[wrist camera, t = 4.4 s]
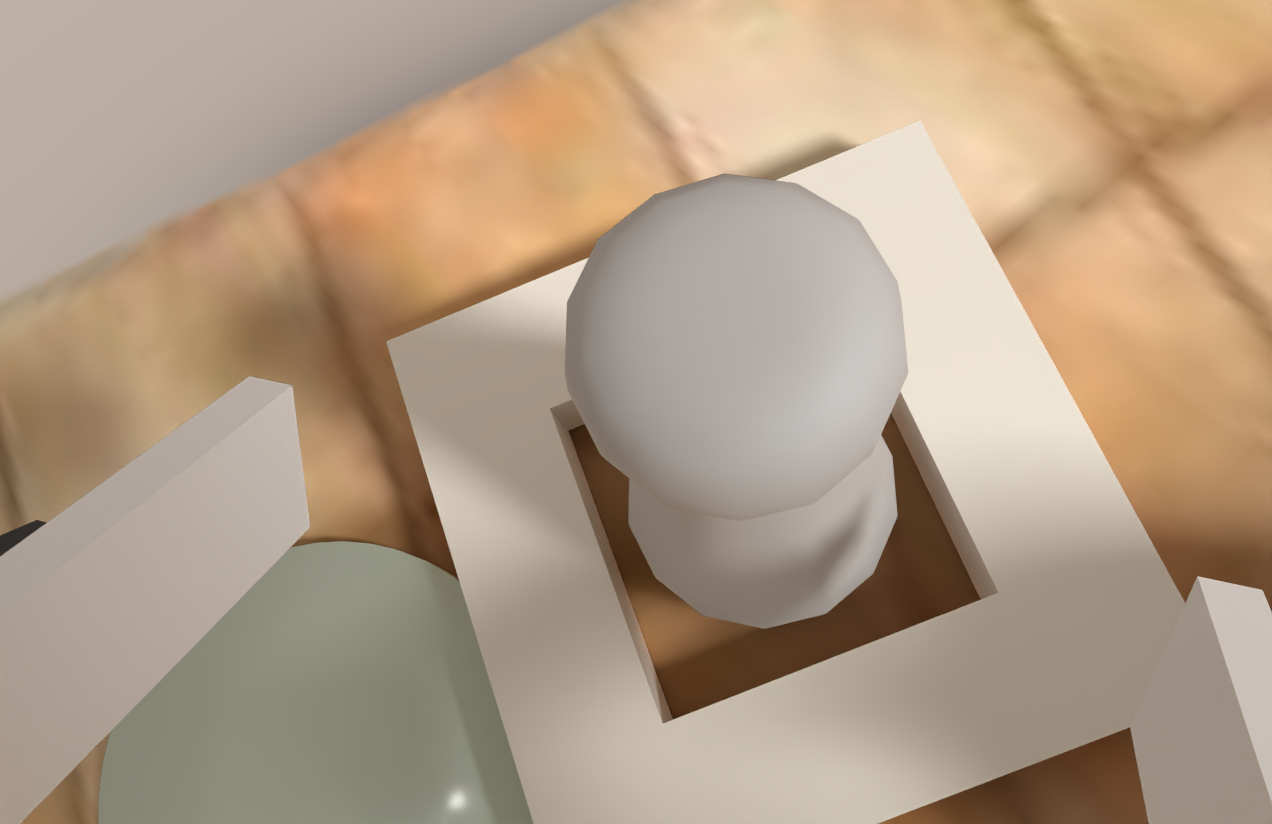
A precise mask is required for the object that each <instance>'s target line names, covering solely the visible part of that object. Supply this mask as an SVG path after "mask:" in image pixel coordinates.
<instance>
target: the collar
mask: <svg viewBox="0 0 1272 824" xmlns="http://www.w3.org/2000/svg"><path fill="white" fill-rule="evenodd" d="M777 181H784V182H792V183H797V184H799V185H801V186H802V187H804V188H806V189H808V190H809V191H811V192H813V193H814V194H816V195H818V196H819V197H821V198H823V199H825V200H826V201H828V202H830V203H831V204H833V205H835V206H837V207H838V208H840V209H842V210H843V211H845V212H847V213H848V214H850V215H852V216H854V217H855V218H857V219H859V220H860V222H861V223H862V225H863V227H864V228H865V230H866V231H867V233H868V235H869V236H870V238H871V239H872V241H873V243H874V244H875V246H876V248H877V249H878V251H879V252H880V254H881V256H882V257H883V259H884V260H885V262H886V264H887V265H888V267H889V268H890V270H891V272H892V273H893V275H894V276H895V278H896V280H897V282H898V287H899V291H900V296H901V302H902V312H903V322H904V333H905V343H906V353H907V364H908V375H907V377H906V380H905V382H904V384H903V386H902V389H901V391H900V393H899V395H898V398H897V400H896V402H895V404H894V407H893V409H892V411H891V414H892V416H893V418H894V420H895V422H896V425H897V427H898V429H899V431H900V433H901V435H902V437H903V439H904V441H905V443H906V445H907V447H908V449H909V452H910V454H911V456H912V458H913V460H914V462H915V464H916V466H917V468H918V470H919V472H920V474H921V477H922V479H923V481H924V483H925V485H926V487H927V489H928V491H929V493H930V495H931V497H932V499H933V501H934V504H935V506H936V508H937V510H938V512H939V514H940V516H941V518H942V520H943V522H944V524H945V526H946V529H947V531H948V533H949V535H950V537H951V539H952V541H953V543H954V545H955V547H956V549H957V551H958V553H959V556H960V558H961V560H962V562H963V564H964V566H965V568H966V570H967V572H968V574H969V576H970V578H971V581H972V583H973V585H974V587H975V589H976V591H977V593H978V595H979V597H980V599H981V600H978V601H976V602H973V603H971V604H968V605H966V606H963V607H960V608H958V609H955V610H953V611H950V612H948V613H945V614H942V615H940V616H937V617H935V618H932V619H930V620H927V621H925V622H922V623H919V624H917V625H914V626H912V627H909V628H907V629H904V630H901V631H899V632H896V633H894V634H891V635H889V636H886V637H884V638H881V639H878V640H876V641H873V642H871V643H868V644H866V645H863V646H860V647H858V648H855V649H853V650H850V651H848V652H845V653H843V654H840V655H837V656H835V657H832V658H830V659H827V660H825V661H822V662H819V663H817V664H814V665H812V666H809V667H807V668H804V669H802V670H799V671H796V672H794V673H791V674H789V675H786V676H784V677H781V678H778V679H776V680H773V681H771V682H768V683H766V684H763V685H761V686H758V687H755V688H753V689H750V690H748V691H745V692H743V693H740V694H737V695H735V696H732V697H730V698H727V699H725V700H722V701H720V702H717V703H714V704H712V705H709V706H707V707H704V708H702V709H699V710H696V711H694V712H691V713H689V714H686V715H684V716H681V717H679V718H676V719H673V718H672V715H671V712H670V710H669V707H668V704H667V701H666V699H665V696H664V693H663V690H662V688H661V685H660V682H659V679H658V676H657V674H656V671H655V668H654V665H653V663H652V660H651V657H650V654H649V652H648V649H647V646H646V643H645V641H644V638H643V635H642V632H641V630H640V627H639V624H638V621H637V618H636V616H635V613H634V610H633V607H632V605H631V602H630V599H629V596H628V594H627V591H626V588H625V585H624V583H623V580H622V577H621V574H620V572H619V569H618V566H617V563H616V560H615V558H614V555H613V552H612V549H611V547H610V544H609V541H608V538H607V536H606V533H605V530H604V527H603V525H602V522H601V519H600V516H599V514H598V511H597V508H596V505H595V502H594V500H593V497H592V494H591V491H590V489H589V486H588V483H587V480H586V478H585V475H584V472H583V469H582V467H581V464H580V461H579V458H578V455H577V453H576V450H575V447H574V444H573V442H572V439H571V436H570V433H569V430H572V429H574V428H576V427H579V426H581V425H584V422H583V420H582V418H581V416H580V414H579V412H578V410H577V408H576V406H575V404H574V402H573V400H572V398H571V396H570V394H569V392H568V389H567V383H566V377H565V347H566V315H567V301H568V299H569V297H570V295H571V293H572V291H573V289H574V287H575V285H576V283H577V281H578V279H579V277H580V275H581V273H582V271H583V269H584V266H585V264H586V262H587V260H588V258H586V259H584V260H582V261H579V262H577V263H574V264H572V265H569V266H567V267H565V268H562V269H560V270H557V271H555V272H553V273H550V274H548V275H545V276H543V277H540V278H538V279H536V280H533V281H531V282H528V283H526V284H523V285H521V286H519V287H516V288H514V289H511V290H509V291H507V292H504V293H502V294H499V295H497V296H494V297H492V298H490V299H487V300H485V301H482V302H480V303H478V304H475V305H473V306H470V307H468V308H465V309H463V310H461V311H458V312H456V313H453V314H451V315H448V316H446V317H444V318H441V319H439V320H436V321H434V322H432V323H429V324H427V325H424V326H422V327H419V328H417V329H415V330H412V331H410V332H407V333H405V334H403V335H400V336H398V337H395V338H393V339H390V340H388V341H386V343H387V347H388V350H389V353H390V356H391V360H392V363H393V366H394V369H395V373H396V376H397V379H398V382H399V386H400V389H401V392H402V395H403V399H404V402H405V405H406V409H407V412H408V415H409V418H410V422H411V425H412V428H413V431H414V435H415V438H416V441H417V444H418V448H419V451H420V454H421V458H422V461H423V464H424V467H425V471H426V474H427V477H428V480H429V484H430V487H431V490H432V493H433V497H434V500H435V503H436V507H437V510H438V513H439V516H440V520H441V523H442V526H443V529H444V533H445V536H446V539H447V542H448V546H449V549H450V552H451V555H452V559H453V562H454V565H455V569H456V572H457V575H458V578H459V582H460V585H461V588H462V591H463V595H464V598H465V601H466V604H467V608H468V611H469V614H470V618H471V621H472V624H473V627H474V631H475V634H476V637H477V640H478V644H479V647H480V650H481V653H482V657H483V660H484V663H485V667H486V670H487V673H488V676H489V680H490V683H491V686H492V689H493V693H494V696H495V699H496V702H497V706H498V709H499V712H500V715H501V719H502V722H503V725H504V729H505V732H506V735H507V738H508V742H509V745H510V748H511V751H512V755H513V758H514V761H515V764H516V768H517V771H518V774H519V778H520V781H521V784H522V787H523V791H524V794H525V797H526V800H527V804H528V807H529V810H530V813H531V817H532V820H533V823H534V824H878V823H881V822H883V821H886V820H888V819H891V818H894V817H896V816H899V815H902V814H904V813H907V812H909V811H912V810H915V809H917V808H920V807H922V806H925V805H928V804H930V803H933V802H936V801H938V800H941V799H943V798H946V797H949V796H951V795H954V794H957V793H959V792H962V791H964V790H967V789H970V788H972V787H975V786H977V785H980V784H983V783H985V782H988V781H991V780H993V779H996V778H998V777H1001V776H1004V775H1006V774H1009V773H1012V772H1014V771H1017V770H1019V769H1022V768H1025V767H1027V766H1030V765H1032V764H1035V763H1038V762H1040V761H1043V760H1046V759H1048V758H1051V757H1053V756H1056V755H1059V754H1061V753H1064V752H1067V751H1069V750H1072V749H1074V748H1077V747H1080V746H1082V745H1085V744H1087V743H1090V742H1093V741H1095V740H1098V739H1101V738H1103V737H1106V736H1108V735H1111V734H1114V733H1116V732H1119V731H1122V730H1124V729H1127V728H1129V727H1130V726H1131V724H1132V721H1133V719H1134V717H1135V715H1136V712H1137V710H1138V708H1139V706H1140V703H1141V701H1142V699H1143V697H1144V695H1145V692H1146V690H1147V688H1148V686H1149V683H1150V681H1151V679H1152V677H1153V674H1154V672H1155V670H1156V668H1157V666H1158V663H1159V661H1160V659H1161V657H1162V654H1163V652H1164V650H1165V648H1166V645H1167V643H1168V641H1169V639H1170V637H1171V634H1172V632H1173V630H1174V628H1175V625H1176V623H1177V621H1178V619H1179V616H1180V614H1181V612H1182V610H1183V608H1184V605H1185V602H1184V600H1183V598H1182V596H1181V594H1180V592H1179V591H1178V589H1177V587H1176V585H1175V583H1174V582H1173V580H1172V578H1171V576H1170V574H1169V572H1168V571H1167V569H1166V567H1165V565H1164V563H1163V562H1162V560H1161V558H1160V556H1159V554H1158V552H1157V551H1156V549H1155V547H1154V545H1153V543H1152V541H1151V540H1150V538H1149V536H1148V534H1147V532H1146V531H1145V529H1144V527H1143V525H1142V523H1141V521H1140V520H1139V518H1138V516H1137V514H1136V512H1135V511H1134V509H1133V507H1132V505H1131V503H1130V501H1129V500H1128V498H1127V496H1126V494H1125V492H1124V491H1123V489H1122V487H1121V485H1120V483H1119V481H1118V480H1117V478H1116V476H1115V474H1114V472H1113V471H1112V469H1111V467H1110V465H1109V463H1108V461H1107V460H1106V458H1105V456H1104V454H1103V452H1102V450H1101V449H1100V447H1099V445H1098V443H1097V441H1096V440H1095V438H1094V436H1093V434H1092V432H1091V430H1090V429H1089V427H1088V425H1087V423H1086V421H1085V420H1084V418H1083V416H1082V414H1081V412H1080V410H1079V409H1078V407H1077V405H1076V403H1075V401H1074V400H1073V398H1072V396H1071V394H1070V392H1069V390H1068V389H1067V387H1066V385H1065V383H1064V381H1063V380H1062V378H1061V376H1060V374H1059V372H1058V370H1057V369H1056V367H1055V365H1054V363H1053V361H1052V359H1051V358H1050V356H1049V354H1048V352H1047V350H1046V349H1045V347H1044V345H1043V343H1042V341H1041V339H1040V338H1039V336H1038V334H1037V332H1036V330H1035V329H1034V327H1033V325H1032V323H1031V321H1030V319H1029V318H1028V316H1027V314H1026V312H1025V310H1024V309H1023V307H1022V305H1021V303H1020V301H1019V299H1018V298H1017V296H1016V294H1015V292H1014V290H1013V288H1012V287H1011V285H1010V283H1009V281H1008V279H1007V278H1006V276H1005V274H1004V272H1003V270H1002V268H1001V267H1000V265H999V263H998V261H997V259H996V258H995V256H994V254H993V252H992V250H991V248H990V247H989V245H988V243H987V241H986V239H985V238H984V236H983V234H982V232H981V230H980V228H979V227H978V225H977V223H976V221H975V219H974V218H973V216H972V214H971V212H970V210H969V208H968V207H967V205H966V203H965V201H964V199H963V197H962V196H961V194H960V192H959V190H958V188H957V187H956V185H955V183H954V181H953V179H952V177H951V176H950V174H949V172H948V170H947V168H946V167H945V165H944V163H943V161H942V159H941V157H940V156H939V154H938V152H937V150H936V148H935V147H934V145H933V143H932V141H931V139H930V137H929V136H928V134H927V132H926V130H925V128H924V126H923V125H922V123H921V121H918V122H915V123H913V124H911V125H908V126H906V127H903V128H901V129H898V130H896V131H894V132H891V133H889V134H886V135H884V136H881V137H879V138H877V139H874V140H872V141H869V142H867V143H865V144H862V145H860V146H857V147H855V148H852V149H850V150H848V151H845V152H843V153H840V154H838V155H836V156H833V157H831V158H828V159H826V160H823V161H821V162H819V163H816V164H814V165H811V166H809V167H806V168H804V169H802V170H799V171H797V172H794V173H792V174H790V175H787V176H785V177H782V178H780V179H777Z"/></svg>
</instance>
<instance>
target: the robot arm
mask: <svg viewBox="0 0 1272 824" xmlns="http://www.w3.org/2000/svg"><path fill="white" fill-rule="evenodd" d="M309 528H310V520H309V513H308V505H307V497H306V489H305V481H304V473H303V465H302V458H301V450H300V442H299V434H298V426H297V418H296V410H295V402H294V395H293V387H292V385H289V384H284V383H280V382H275V381H270V380H265V379H261V378H256V377H251V376H249V377H247V378H246V379H245V380H243V381H242V382H241V383H239V384H238V385H236V386H235V387H234V388H232V389H231V390H229V391H228V392H227V393H225V394H224V395H223V396H221V397H220V398H218V399H217V400H216V401H214V402H213V403H212V404H210V405H209V406H207V407H206V408H205V409H203V410H202V411H200V412H199V413H198V414H196V415H195V416H194V417H192V418H191V419H189V420H188V421H187V422H185V423H184V424H183V425H181V426H180V427H178V428H177V429H176V430H174V431H173V432H171V433H170V434H169V435H167V436H166V437H165V438H163V439H162V440H160V441H159V442H158V443H156V444H155V445H154V446H152V447H151V448H149V449H148V450H147V451H145V452H144V453H143V454H141V455H140V456H138V457H137V458H136V459H134V460H133V461H131V462H130V463H129V464H127V465H126V466H125V467H123V468H122V469H120V470H119V471H118V472H116V473H115V474H114V475H112V476H111V477H109V478H108V479H107V480H105V481H104V482H102V483H101V484H100V485H98V486H97V487H96V488H94V489H93V490H91V491H90V492H89V493H87V494H86V495H85V496H83V497H82V498H80V499H79V500H78V501H76V502H75V503H73V504H72V505H71V506H69V507H68V508H67V509H65V510H64V511H62V512H61V513H60V514H58V515H57V516H56V517H54V518H53V519H51V520H50V521H49V522H47V523H46V522H42V521H38V520H36V521H34V522H31V523H29V524H26V525H24V526H22V527H19V528H17V529H15V530H12V531H10V532H8V533H5V534H3V535H1V536H0V824H21V823H22V822H23V821H24V820H25V818H26V817H27V816H28V815H29V814H30V813H31V812H32V811H33V810H34V809H35V808H36V807H37V806H38V805H39V804H40V803H41V802H42V801H43V800H44V799H45V798H46V797H47V796H48V795H49V794H50V793H51V792H52V791H53V790H54V789H55V788H56V787H57V786H58V785H59V784H60V783H61V782H62V781H63V780H64V779H65V778H66V777H67V776H68V774H69V773H70V772H71V771H72V770H73V769H74V768H75V767H76V766H77V765H78V764H79V763H80V762H81V761H82V760H83V759H84V758H85V757H86V756H87V755H88V754H89V753H90V752H91V751H92V750H93V749H94V748H95V747H96V746H97V745H98V744H99V743H100V742H101V741H102V740H103V739H104V738H105V737H106V736H107V735H108V734H109V733H110V732H111V730H112V729H113V728H114V727H115V726H116V725H117V724H118V723H119V722H120V721H121V720H122V719H123V718H124V717H125V716H126V715H127V714H128V713H129V712H130V711H131V710H132V709H133V708H134V707H135V706H136V705H137V704H138V703H139V702H140V701H141V700H142V699H143V698H144V697H145V696H146V695H147V694H148V693H149V692H150V691H151V690H152V689H153V687H154V686H155V685H156V684H157V683H158V682H159V681H160V680H161V679H162V678H163V677H164V676H165V675H166V674H167V673H168V672H169V671H170V670H171V669H172V668H173V667H174V666H175V665H176V664H177V663H178V662H179V661H180V660H181V659H182V658H183V657H184V656H185V655H186V654H187V653H188V652H189V651H190V650H191V649H192V648H193V647H194V646H195V645H196V643H197V642H198V641H199V640H200V639H201V638H202V637H203V636H204V635H205V634H206V633H207V632H208V631H209V630H210V629H211V628H212V627H213V626H214V625H215V624H216V623H217V622H218V621H219V620H220V619H221V618H222V617H223V616H224V615H225V614H226V613H227V612H228V611H229V610H230V609H231V608H232V607H233V606H234V605H235V604H236V603H237V602H238V601H239V599H240V598H241V597H242V596H243V595H244V594H245V593H246V592H247V591H248V590H249V589H250V588H251V587H252V586H253V585H254V584H255V583H256V582H257V581H258V580H259V579H260V578H261V577H262V576H263V575H264V574H265V573H266V572H267V571H268V570H269V569H270V568H271V567H272V566H273V565H274V564H275V563H276V562H277V561H278V560H279V559H280V558H281V557H282V555H283V554H284V553H285V552H286V551H287V550H288V549H289V548H290V547H291V546H292V545H293V544H294V543H295V542H296V541H297V540H298V539H299V538H300V537H301V536H302V535H303V534H304V533H305V532H306V531H307V530H308V529H309ZM1130 729H1131V735H1132V740H1133V745H1134V750H1135V755H1136V761H1137V766H1138V771H1139V776H1140V781H1141V787H1142V792H1143V797H1144V802H1145V807H1146V813H1147V818H1148V823H1149V824H1272V612H1271V609H1270V607H1269V604H1268V602H1267V599H1266V597H1265V595H1264V592H1263V590H1261V589H1256V588H1251V587H1246V586H1242V585H1237V584H1232V583H1227V582H1223V581H1218V580H1213V579H1208V578H1204V577H1199V576H1197V579H1196V581H1195V583H1194V585H1193V587H1192V590H1191V592H1190V594H1189V596H1188V599H1187V601H1186V603H1185V605H1184V608H1183V610H1182V612H1181V614H1180V616H1179V619H1178V621H1177V623H1176V625H1175V628H1174V630H1173V632H1172V634H1171V637H1170V639H1169V641H1168V643H1167V645H1166V648H1165V650H1164V652H1163V654H1162V657H1161V659H1160V661H1159V663H1158V666H1157V668H1156V670H1155V672H1154V674H1153V677H1152V679H1151V681H1150V683H1149V686H1148V688H1147V690H1146V692H1145V695H1144V697H1143V699H1142V701H1141V703H1140V706H1139V708H1138V710H1137V712H1136V715H1135V717H1134V719H1133V721H1132V724H1131V726H1130Z"/></svg>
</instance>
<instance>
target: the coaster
mask: <svg viewBox="0 0 1272 824" xmlns="http://www.w3.org/2000/svg"><path fill="white" fill-rule="evenodd" d="M98 824H534V823H533V820H532V817H531V813H530V810H529V807H528V804H527V800H526V797H525V794H524V791H523V787H522V784H521V781H520V778H519V774H518V771H517V768H516V764H515V761H514V758H513V755H512V751H511V748H510V745H509V742H508V738H507V735H506V732H505V729H504V725H503V722H502V719H501V715H500V712H499V709H498V706H497V702H496V699H495V696H494V693H493V689H492V686H491V683H490V680H489V676H488V673H487V670H486V667H485V663H484V660H483V657H482V653H481V650H480V647H479V644H478V640H477V637H476V634H475V631H474V627H473V624H472V621H471V618H470V614H469V611H468V608H467V604H466V601H465V598H464V595H463V591H462V588H461V585H460V582H459V579H458V578H457V577H455V576H454V575H452V574H450V573H448V572H447V571H445V570H443V569H441V568H440V567H438V566H436V565H434V564H432V563H430V562H428V561H425V560H423V559H420V558H417V557H415V556H412V555H410V554H407V553H405V552H402V551H399V550H397V549H392V548H388V547H383V546H379V545H375V544H370V543H359V542H347V541H338V542H320V543H312V544H307V545H301V546H296V547H291V548H289V549H288V550H287V551H286V552H285V553H284V554H283V555H282V557H281V558H280V559H279V560H278V561H277V562H276V563H275V564H274V565H273V566H272V567H271V568H270V569H269V570H268V571H267V572H266V573H265V574H264V575H263V576H262V577H261V578H260V579H259V580H258V581H257V582H256V583H255V584H254V585H253V586H252V587H251V588H250V589H249V590H248V591H247V592H246V593H245V594H244V595H243V596H242V597H241V598H240V599H239V601H238V602H237V603H236V604H235V605H234V606H233V607H232V608H231V609H230V610H229V611H228V612H227V613H226V614H225V615H224V616H223V617H222V618H221V619H220V620H219V621H218V622H217V623H216V624H215V625H214V626H213V627H212V628H211V629H210V630H209V631H208V632H207V633H206V634H205V635H204V636H203V637H202V638H201V639H200V640H199V641H198V642H197V643H196V645H195V646H194V647H193V648H192V649H191V650H190V651H189V652H188V653H187V654H186V655H185V656H184V657H183V658H182V659H181V660H180V661H179V662H178V663H177V664H176V665H175V666H174V667H173V668H172V669H171V670H170V671H169V672H168V673H167V674H166V675H165V676H164V677H163V678H162V679H161V680H160V681H159V682H158V683H157V684H156V685H155V686H154V687H153V689H152V690H151V691H150V692H149V693H148V694H147V695H146V696H145V697H144V698H143V699H142V700H141V701H140V702H139V703H138V704H137V705H136V706H135V707H134V708H133V709H132V710H131V711H130V712H129V713H128V714H127V715H126V716H125V717H124V718H123V719H122V720H121V721H120V722H119V723H118V724H117V725H116V726H115V727H114V728H113V729H112V730H111V732H110V734H109V738H108V743H107V747H106V751H105V756H104V760H103V764H102V772H101V780H100V789H99V797H98Z"/></svg>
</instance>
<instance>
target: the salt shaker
mask: <svg viewBox="0 0 1272 824" xmlns="http://www.w3.org/2000/svg"><path fill="white" fill-rule="evenodd" d="M907 375H908V364H907V353H906V343H905V333H904V322H903V312H902V302H901V296H900V291H899V287H898V282H897V280H896V278H895V276H894V275H893V273H892V272H891V270H890V268H889V267H888V265H887V264H886V262H885V260H884V259H883V257H882V256H881V254H880V252H879V251H878V249H877V248H876V246H875V244H874V243H873V241H872V239H871V238H870V236H869V235H868V233H867V231H866V230H865V228H864V227H863V225H862V223H861V222H860V220H859V219H857V218H855V217H854V216H852V215H850V214H848V213H847V212H845V211H843V210H842V209H840V208H838V207H837V206H835V205H833V204H831V203H830V202H828V201H826V200H825V199H823V198H821V197H819V196H818V195H816V194H814V193H813V192H811V191H809V190H808V189H806V188H804V187H802V186H801V185H799V184H797V183H792V182H784V181H777V180H769V179H761V178H754V177H746V176H739V175H731V174H721V175H718V176H715V177H711V178H708V179H705V180H701V181H698V182H695V183H691V184H688V185H685V186H681V187H678V188H675V189H671V190H668V191H664V192H661V193H658V194H654V195H653V196H652V197H651V198H649V199H648V200H647V201H646V202H644V203H643V204H642V205H641V206H639V207H638V208H637V209H635V210H634V211H633V212H632V213H630V214H629V215H628V216H627V217H625V218H624V219H623V220H622V221H620V222H619V223H618V224H616V225H615V226H614V227H613V228H611V229H610V230H609V231H608V232H606V233H605V234H604V235H603V236H601V237H600V238H599V239H598V240H597V242H596V244H595V246H594V248H593V250H592V252H591V254H590V256H589V258H588V260H587V262H586V264H585V266H584V269H583V271H582V273H581V275H580V277H579V279H578V281H577V283H576V285H575V287H574V289H573V291H572V293H571V295H570V297H569V299H568V301H567V315H566V347H565V377H566V383H567V389H568V392H569V394H570V396H571V398H572V400H573V402H574V404H575V406H576V408H577V410H578V412H579V414H580V416H581V418H582V420H583V422H584V424H585V426H586V427H587V429H588V431H589V433H590V435H591V437H592V439H593V441H594V443H595V445H596V447H597V449H598V451H599V453H600V455H601V456H602V457H604V458H605V459H606V460H607V461H608V462H609V463H610V464H612V465H613V466H614V467H615V468H617V469H618V470H619V471H621V472H622V473H623V474H624V475H626V476H627V477H628V478H629V516H628V524H629V526H630V528H631V530H632V532H633V534H634V536H635V538H636V540H637V542H638V544H639V546H640V548H641V550H642V552H643V554H644V556H645V558H646V560H647V562H648V564H649V566H650V568H651V570H652V572H653V574H654V576H655V578H656V579H657V580H659V581H660V582H661V583H662V584H664V585H665V586H666V587H667V588H669V589H670V590H671V591H672V592H674V593H675V594H676V595H677V596H679V597H680V598H681V599H682V600H684V601H685V602H686V603H687V604H689V605H690V606H691V607H692V608H694V609H695V610H696V611H697V612H699V613H700V614H701V615H702V616H706V617H711V618H715V619H720V620H725V621H730V622H734V623H739V624H744V625H749V626H753V627H758V628H763V629H766V628H770V627H775V626H779V625H783V624H787V623H791V622H795V621H799V620H803V619H807V618H811V617H816V616H820V615H824V614H827V613H828V612H829V611H830V610H831V609H832V608H834V607H835V606H836V605H837V604H838V603H839V602H841V601H842V600H843V599H844V598H845V597H846V596H848V595H849V594H850V593H851V592H852V591H853V590H855V589H856V588H857V587H858V586H859V585H860V584H862V583H863V582H864V581H865V580H866V579H867V578H869V577H870V576H871V575H872V574H873V573H874V571H875V569H876V566H877V564H878V561H879V559H880V557H881V554H882V552H883V550H884V547H885V545H886V543H887V540H888V538H889V535H890V533H891V531H892V528H893V526H894V524H895V521H896V519H897V517H898V514H897V503H896V491H895V480H894V468H893V456H892V454H891V453H890V451H889V449H888V447H887V445H886V443H885V441H884V439H883V437H882V435H881V434H882V432H883V429H884V427H885V425H886V422H887V420H888V418H889V416H890V413H891V411H892V409H893V407H894V404H895V402H896V400H897V398H898V395H899V393H900V391H901V389H902V386H903V384H904V382H905V380H906V377H907Z"/></svg>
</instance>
